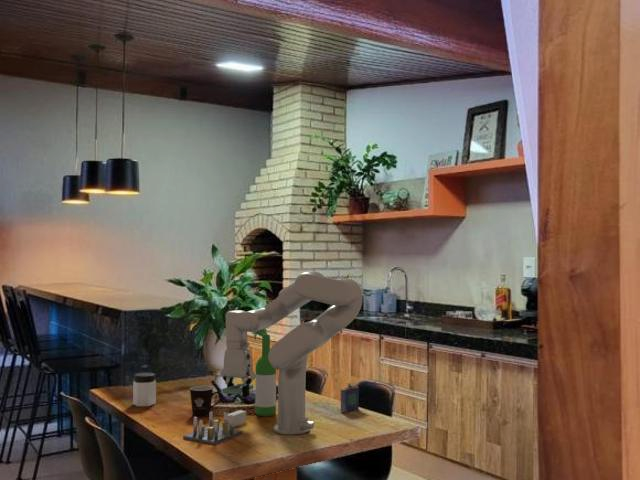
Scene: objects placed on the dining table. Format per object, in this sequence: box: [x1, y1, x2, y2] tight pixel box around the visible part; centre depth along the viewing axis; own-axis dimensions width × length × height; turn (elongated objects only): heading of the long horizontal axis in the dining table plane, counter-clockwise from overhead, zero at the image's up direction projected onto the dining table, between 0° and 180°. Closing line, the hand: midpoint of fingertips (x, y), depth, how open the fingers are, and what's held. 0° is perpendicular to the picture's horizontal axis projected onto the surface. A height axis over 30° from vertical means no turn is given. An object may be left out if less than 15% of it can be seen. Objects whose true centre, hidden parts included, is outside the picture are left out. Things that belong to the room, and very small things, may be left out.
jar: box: [132, 372, 157, 407], centre depth 258 cm, size 9×8×12 cm
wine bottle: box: [254, 334, 277, 417], centre depth 243 cm, size 8×8×30 cm
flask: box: [340, 382, 360, 414], centre depth 249 cm, size 9×3×11 cm, turn 133°
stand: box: [227, 409, 247, 428], centre depth 229 cm, size 3×8×4 cm, turn 150°
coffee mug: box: [189, 385, 224, 418], centre depth 242 cm, size 12×9×10 cm
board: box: [222, 382, 254, 395], centre depth 229 cm, size 6×10×2 cm, turn 150°
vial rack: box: [182, 411, 244, 446], centre depth 214 cm, size 13×15×6 cm
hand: (238, 395), depth 229 cm, fingers closed on board, 6 cm apart
